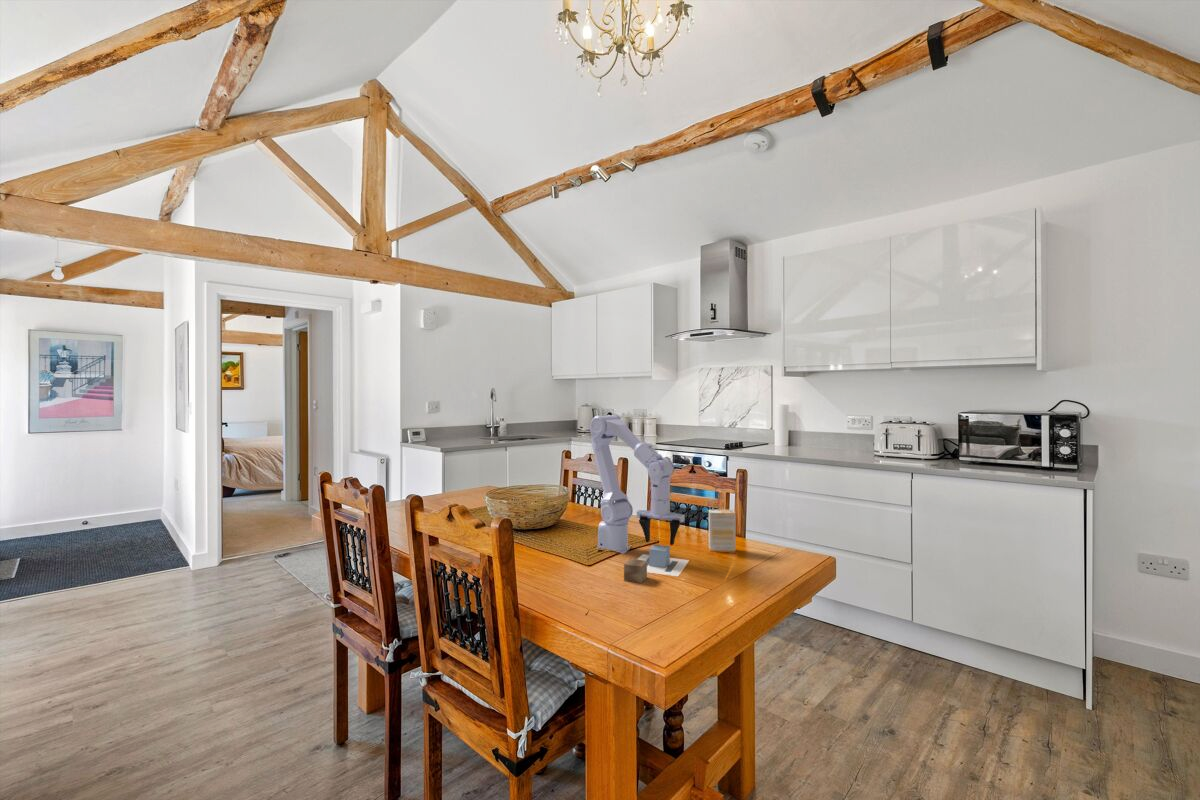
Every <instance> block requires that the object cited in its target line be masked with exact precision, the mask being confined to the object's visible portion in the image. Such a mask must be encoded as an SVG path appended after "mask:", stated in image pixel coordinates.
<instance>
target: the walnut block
mask: <svg viewBox="0 0 1200 800" xmlns="http://www.w3.org/2000/svg"><path fill="white" fill-rule="evenodd" d="M647 577H648V572H647V561H644V560H637V559H635V558H629V559H628V560H627V561H626V562H625V563H624V564H623V581H624V582H631V583H636V584H643V582H644V581H645V580H646V579H647Z"/></svg>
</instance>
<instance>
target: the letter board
mask: <svg viewBox="0 0 1200 800" xmlns="http://www.w3.org/2000/svg"><path fill="white" fill-rule="evenodd" d="M636 560H644V561H647V574H648V573H650V574H657V575H665V576H671V577H679V576H680V575H681V573H682V572H683V570H684V569H685V567H686V566H687V564H688V563H689V561H690V560H689V559H683V558H675V557H670V563H669V564H668V566H667V567H666V568H662V567H654V566H649V554H643V553H642V554H641V555H640V556H639V557H638V558H637V559H636Z"/></svg>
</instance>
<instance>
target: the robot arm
mask: <svg viewBox="0 0 1200 800" xmlns="http://www.w3.org/2000/svg"><path fill="white" fill-rule="evenodd" d="M588 427H589V432H590V436H591V442H590V443H591V447H592V448H591V449H592V452H593V455H594V459H595V463H596V468H597V470H598V474H599V478H600V481H601V482H600V483H601V486H602V491H603V494H604V495H603V497H602V499H601V501H600V516H601V519H602V520H601V521H600V522H599V524H598V529H597V549H598V548H604V549H609V550H614V551H620V553H619V554H626V553H627V552H628V551H629V550H630V549H631V548H630V547H629V548H628V545H629V543H628V541H629V536H628V535H629V534H628V533H629V522H630V518H631V517H632V515H633V513H634V511H633V510H634V509H633V506H632V504H631V502H630V500H629V498H628V495H627V494H625V493H624V492H623V491H622V490H621V488H620V487H621V486H620V484H619V479H618V476H617V472H616V467H615V464H614V459H613V457H612V453H611V449H610V444H611V442H612V440H614V439H615V437H617V438H619V439H620V440H621V441H623V443H625V444H626V445H627V446H628V447H629V448H630V449H631V450H633V455H634V457H635V458H636V459H637V460H638V461H639V462H640V463H641V464H642V465H643V466H644V467H645V468H646V471H647V475H648V476H649V479H650V480H649V482H650V485H651V486H650V492H651V493H650V510H642V509H638V510H637V511H636V518H638V519H639V520H638V523H639V525H640V526H641V529H642V531H643V534H644V539H645V543H649V542H650V540H651V523H652V522H651V521H652V519H653V520H654V519H655V520H663V521H670V522H669V531H670V532H669V533H670V535H669V537H670V538H669V539H670V540H669V546H674V545H675V539H676V536H677V533H678V530H679V527H680V526H681V524H682V523H684V522H685V514H683V513H682V514H681V513H678V512H677V513H676V512H672V511H671V510H670V507H671V504H670V503H671V477H672V475H674V472H675V465H674V463H673V461H672V460H671V459H670V458H668V457H664V456H662V455H661V453H659V452H658V451H656V450H655V449H654V448H653V445H652V444H651V443H648V442H642V441H641V440H640V439H639V438H638V437H637V436H636V435H635V434H634V433H633V431H632V430H630V428H629V427H628V426H627V425H626V422H625V420H624V419H622V418H621V416H620V415H618V414H612V415H609V414H607V415H595V416H593V418H592V419H591V421H590V423H589V425H588Z"/></svg>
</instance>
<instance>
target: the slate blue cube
mask: <svg viewBox="0 0 1200 800" xmlns="http://www.w3.org/2000/svg"><path fill="white" fill-rule="evenodd" d="M670 546H671V545H661V544H652V546H651V547H650V548H649V549H648V555H649V566H654V567H662V568H666V567H667V566H668V564H669V563H670V558H671V556H670V555H671V553H670V552H671V547H670Z"/></svg>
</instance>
